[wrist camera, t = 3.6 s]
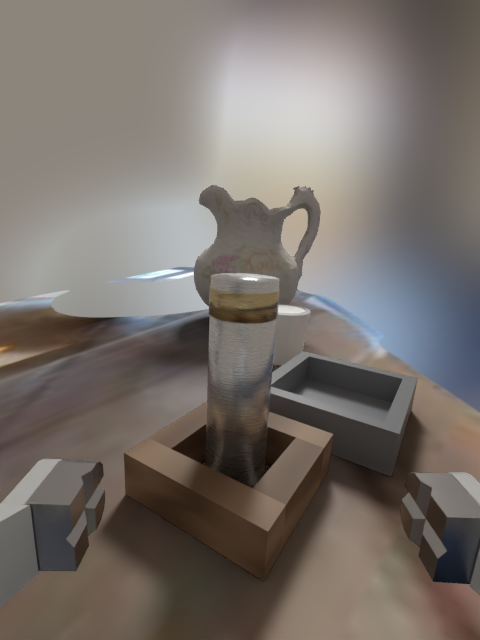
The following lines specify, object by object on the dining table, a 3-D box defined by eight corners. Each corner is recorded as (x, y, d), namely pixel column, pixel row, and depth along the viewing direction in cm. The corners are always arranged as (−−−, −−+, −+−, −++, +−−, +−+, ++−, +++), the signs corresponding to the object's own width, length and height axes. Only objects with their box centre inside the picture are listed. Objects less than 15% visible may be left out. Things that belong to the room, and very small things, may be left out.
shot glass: (274, 370, 43) (279, 316, 41) (246, 353, 49) (249, 304, 47) (316, 362, 46) (322, 312, 45) (284, 347, 52) (288, 301, 50)
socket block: (125, 494, 22) (124, 453, 21) (217, 425, 30) (218, 394, 30) (263, 581, 17) (268, 531, 16) (328, 470, 25) (333, 433, 24)
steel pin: (191, 486, 23) (195, 276, 19) (226, 455, 26) (234, 271, 23) (243, 514, 21) (258, 285, 17) (274, 476, 24) (291, 278, 21)
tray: (248, 422, 31) (250, 387, 30) (300, 379, 41) (303, 351, 40) (391, 477, 25) (399, 434, 24) (411, 410, 35) (417, 378, 34)
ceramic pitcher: (286, 315, 77) (292, 198, 73) (329, 334, 58) (340, 179, 54) (188, 317, 72) (188, 191, 67) (201, 338, 53) (203, 166, 49)
